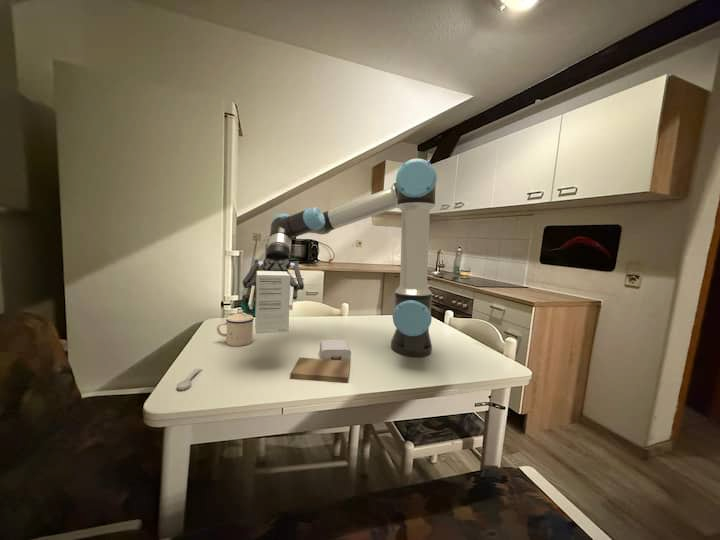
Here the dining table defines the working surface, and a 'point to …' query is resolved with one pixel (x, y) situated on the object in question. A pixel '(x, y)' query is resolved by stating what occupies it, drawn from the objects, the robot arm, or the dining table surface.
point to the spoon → (187, 380)
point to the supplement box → (272, 302)
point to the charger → (335, 350)
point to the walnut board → (321, 370)
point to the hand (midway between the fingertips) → (270, 307)
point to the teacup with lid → (238, 329)
